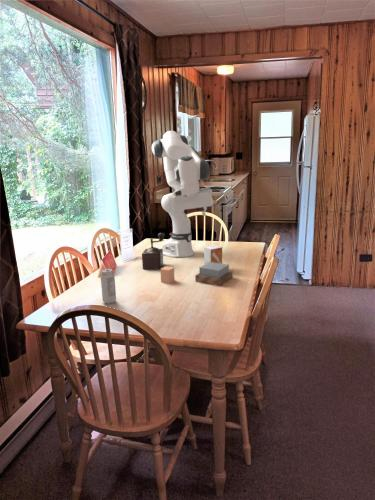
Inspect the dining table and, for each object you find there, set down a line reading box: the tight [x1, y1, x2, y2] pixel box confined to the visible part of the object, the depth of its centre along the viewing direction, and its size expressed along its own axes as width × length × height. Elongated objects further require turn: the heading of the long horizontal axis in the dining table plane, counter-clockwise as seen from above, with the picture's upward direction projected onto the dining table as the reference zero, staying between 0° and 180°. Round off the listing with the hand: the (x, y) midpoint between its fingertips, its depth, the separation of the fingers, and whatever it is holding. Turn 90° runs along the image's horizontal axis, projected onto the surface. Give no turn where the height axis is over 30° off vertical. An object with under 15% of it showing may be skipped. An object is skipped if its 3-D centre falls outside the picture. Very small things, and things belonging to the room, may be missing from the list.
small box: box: [203, 244, 223, 265], centre depth 221 cm, size 8×6×13 cm
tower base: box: [194, 270, 233, 287], centre depth 207 cm, size 14×14×4 cm
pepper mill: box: [141, 232, 165, 270], centre depth 232 cm, size 16×11×18 cm
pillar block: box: [159, 265, 176, 284], centre depth 206 cm, size 5×5×7 cm
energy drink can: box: [100, 268, 117, 304], centre depth 181 cm, size 6×6×15 cm
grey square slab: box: [198, 262, 230, 278], centre depth 206 cm, size 11×11×4 cm
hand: (194, 217), depth 204 cm, fingers open, 8 cm apart
